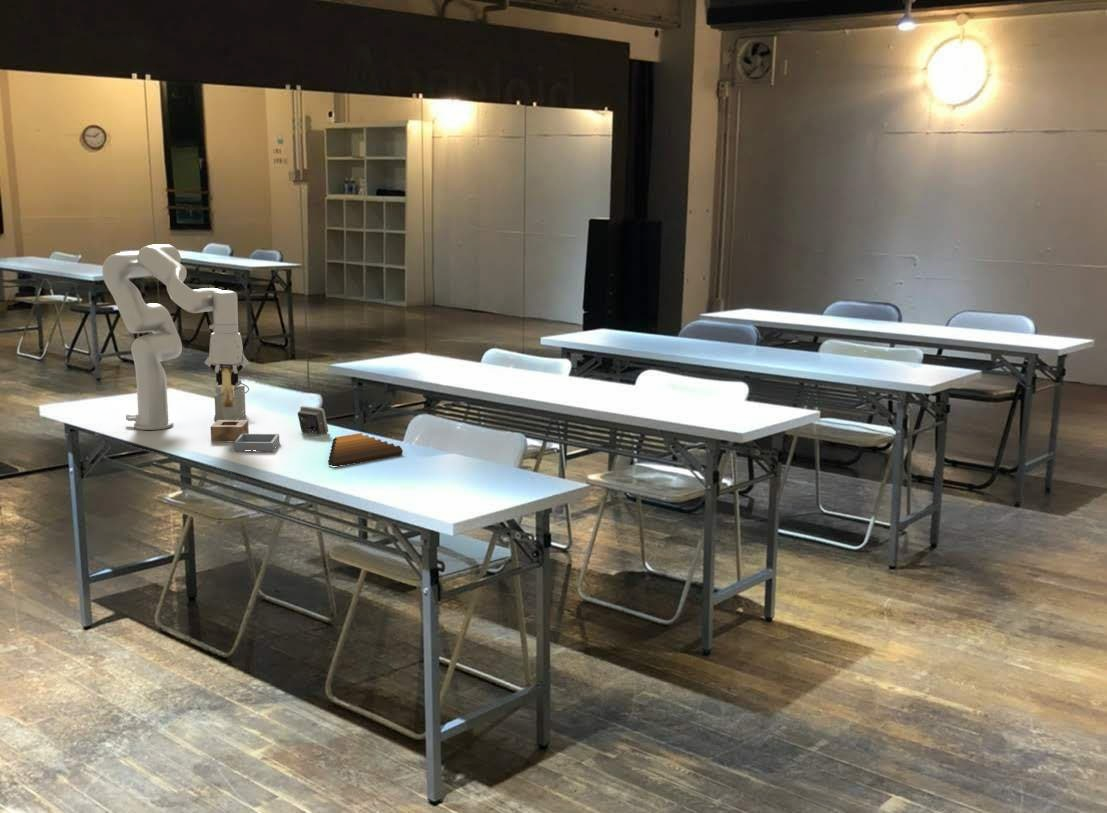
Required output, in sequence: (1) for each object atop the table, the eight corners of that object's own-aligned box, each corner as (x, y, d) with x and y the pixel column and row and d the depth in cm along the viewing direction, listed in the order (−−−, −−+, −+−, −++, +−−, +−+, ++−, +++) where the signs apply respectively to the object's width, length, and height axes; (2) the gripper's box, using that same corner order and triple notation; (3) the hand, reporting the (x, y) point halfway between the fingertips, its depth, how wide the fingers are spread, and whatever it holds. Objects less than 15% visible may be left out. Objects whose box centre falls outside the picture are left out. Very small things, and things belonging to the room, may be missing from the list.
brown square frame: (211, 441, 336) (210, 426, 335) (218, 434, 346) (217, 419, 345) (242, 441, 337) (242, 426, 336) (248, 434, 347) (248, 420, 346)
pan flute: (334, 469, 310) (402, 456, 327) (334, 458, 309) (402, 446, 326) (291, 453, 327) (358, 441, 344) (291, 442, 326) (358, 432, 344)
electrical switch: (329, 433, 353) (327, 407, 350) (320, 437, 348) (317, 411, 345) (306, 430, 356) (304, 404, 354) (297, 434, 352) (294, 408, 349)
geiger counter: (233, 376, 374) (204, 389, 350) (250, 377, 374) (222, 390, 350) (235, 414, 377) (206, 429, 353) (252, 414, 377) (224, 430, 352)
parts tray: (233, 451, 325) (233, 442, 324) (241, 442, 336) (241, 433, 336) (272, 452, 326) (272, 442, 325) (279, 442, 337) (279, 433, 337)
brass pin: (220, 407, 338) (219, 364, 335) (223, 404, 341) (222, 362, 338) (232, 407, 338) (231, 365, 335) (235, 404, 342) (234, 363, 339)
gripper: (196, 330, 330) (198, 386, 334) (250, 331, 331) (251, 387, 335) (202, 326, 337) (204, 381, 341) (254, 328, 339) (255, 383, 343)
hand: (227, 384), depth 338 cm, fingers closed on brass pin, 4 cm apart
